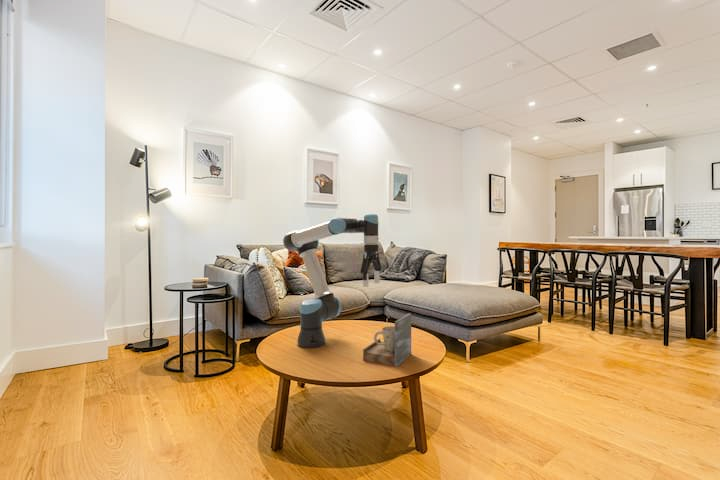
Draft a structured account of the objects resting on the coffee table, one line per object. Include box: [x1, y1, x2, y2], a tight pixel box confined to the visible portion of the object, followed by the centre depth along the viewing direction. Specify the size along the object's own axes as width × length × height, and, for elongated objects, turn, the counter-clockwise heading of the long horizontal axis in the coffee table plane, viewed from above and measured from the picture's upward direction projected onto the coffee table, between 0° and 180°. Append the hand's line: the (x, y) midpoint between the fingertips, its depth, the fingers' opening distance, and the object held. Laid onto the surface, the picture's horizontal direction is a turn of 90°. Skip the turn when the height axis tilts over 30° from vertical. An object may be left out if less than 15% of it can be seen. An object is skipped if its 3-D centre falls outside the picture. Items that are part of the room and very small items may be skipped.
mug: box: [373, 325, 395, 351], centre depth 170 cm, size 8×13×10 cm, turn 79°
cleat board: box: [362, 313, 412, 367], centre depth 171 cm, size 18×18×20 cm
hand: (371, 284), depth 185 cm, fingers open, 13 cm apart
